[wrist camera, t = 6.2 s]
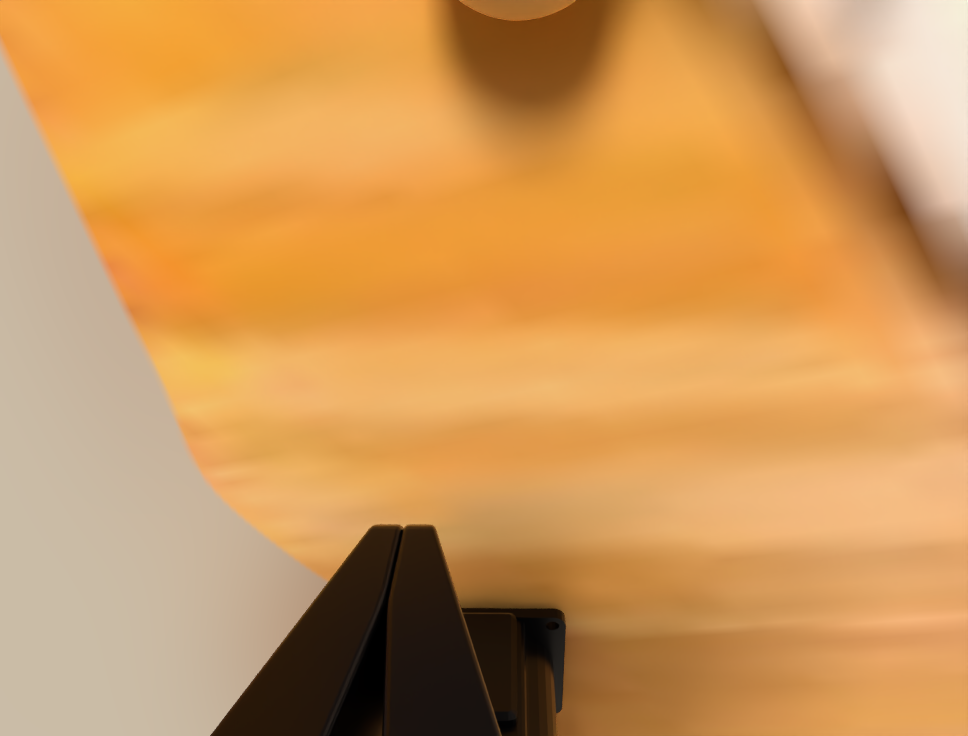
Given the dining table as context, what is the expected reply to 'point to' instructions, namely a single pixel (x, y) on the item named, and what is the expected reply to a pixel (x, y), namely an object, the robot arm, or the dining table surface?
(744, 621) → the dining table surface
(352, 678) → the robot arm
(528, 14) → the figurine
